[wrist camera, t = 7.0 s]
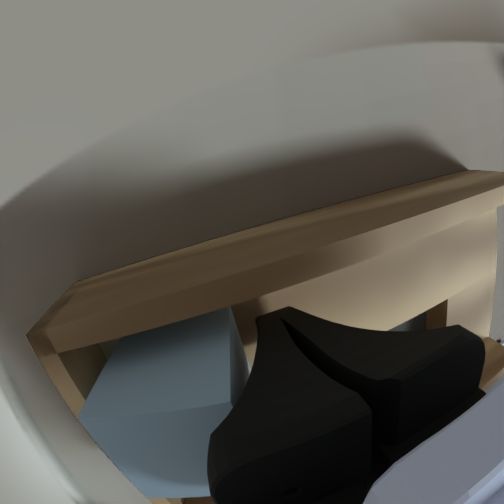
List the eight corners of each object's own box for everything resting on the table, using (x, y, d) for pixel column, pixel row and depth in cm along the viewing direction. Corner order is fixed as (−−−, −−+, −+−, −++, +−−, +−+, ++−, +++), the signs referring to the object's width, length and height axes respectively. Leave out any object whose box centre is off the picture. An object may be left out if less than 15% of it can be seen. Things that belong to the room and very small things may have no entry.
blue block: (256, 387, 12) (270, 487, 7) (166, 403, 12) (147, 497, 7) (229, 302, 11) (230, 401, 6) (127, 326, 11) (76, 417, 6)
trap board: (469, 335, 18) (515, 363, 13) (173, 459, 15) (177, 525, 10) (469, 169, 15) (533, 175, 10) (75, 282, 12) (26, 334, 7)
